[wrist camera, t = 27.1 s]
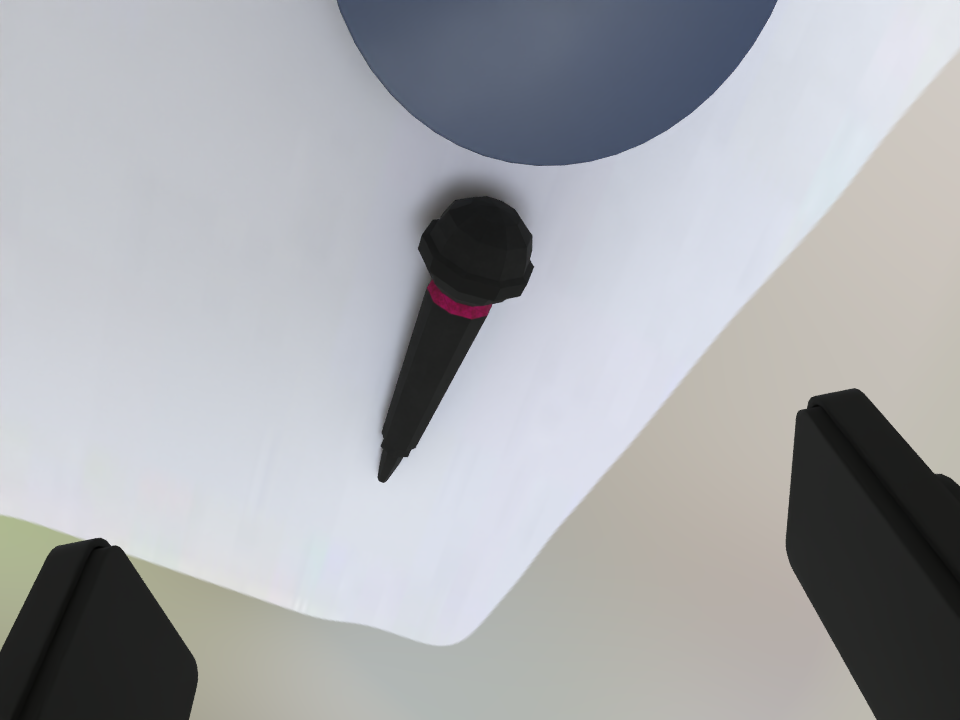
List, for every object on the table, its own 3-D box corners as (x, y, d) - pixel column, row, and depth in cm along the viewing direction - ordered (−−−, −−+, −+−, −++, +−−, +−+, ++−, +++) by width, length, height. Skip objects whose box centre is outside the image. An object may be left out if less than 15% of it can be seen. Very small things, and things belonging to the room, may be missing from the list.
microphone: (409, 442, 50) (524, 181, 38) (436, 513, 46) (572, 249, 34) (329, 445, 47) (425, 165, 35) (350, 521, 43) (465, 237, 31)
